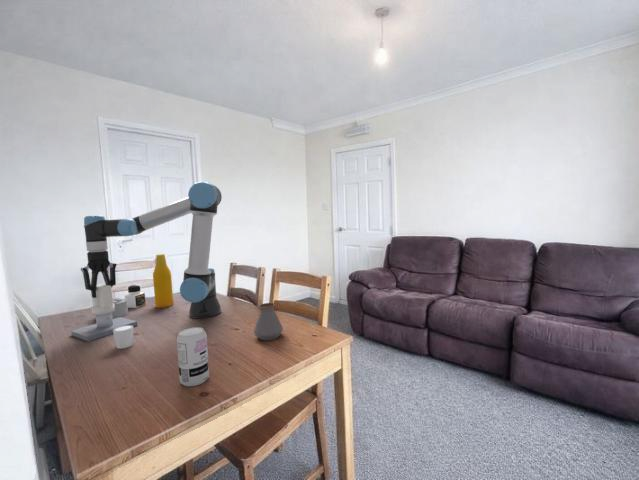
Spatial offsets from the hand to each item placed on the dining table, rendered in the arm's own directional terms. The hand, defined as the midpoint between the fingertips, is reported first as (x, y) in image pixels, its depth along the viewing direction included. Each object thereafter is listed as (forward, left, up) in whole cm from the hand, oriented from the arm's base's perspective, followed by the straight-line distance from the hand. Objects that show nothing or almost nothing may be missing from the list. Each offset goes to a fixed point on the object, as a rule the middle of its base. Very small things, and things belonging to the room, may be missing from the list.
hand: (102, 303), depth 140 cm
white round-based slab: (+1, 0, -4) cm, 4 cm away
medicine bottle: (+28, -28, -13) cm, 41 cm away
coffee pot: (-68, -28, -13) cm, 74 cm away
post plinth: (0, 0, -12) cm, 12 cm away
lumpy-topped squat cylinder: (+20, -13, -13) cm, 27 cm away
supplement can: (-74, +9, -13) cm, 76 cm away
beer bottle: (+12, -36, -13) cm, 40 cm away
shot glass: (-26, +5, -13) cm, 30 cm away
